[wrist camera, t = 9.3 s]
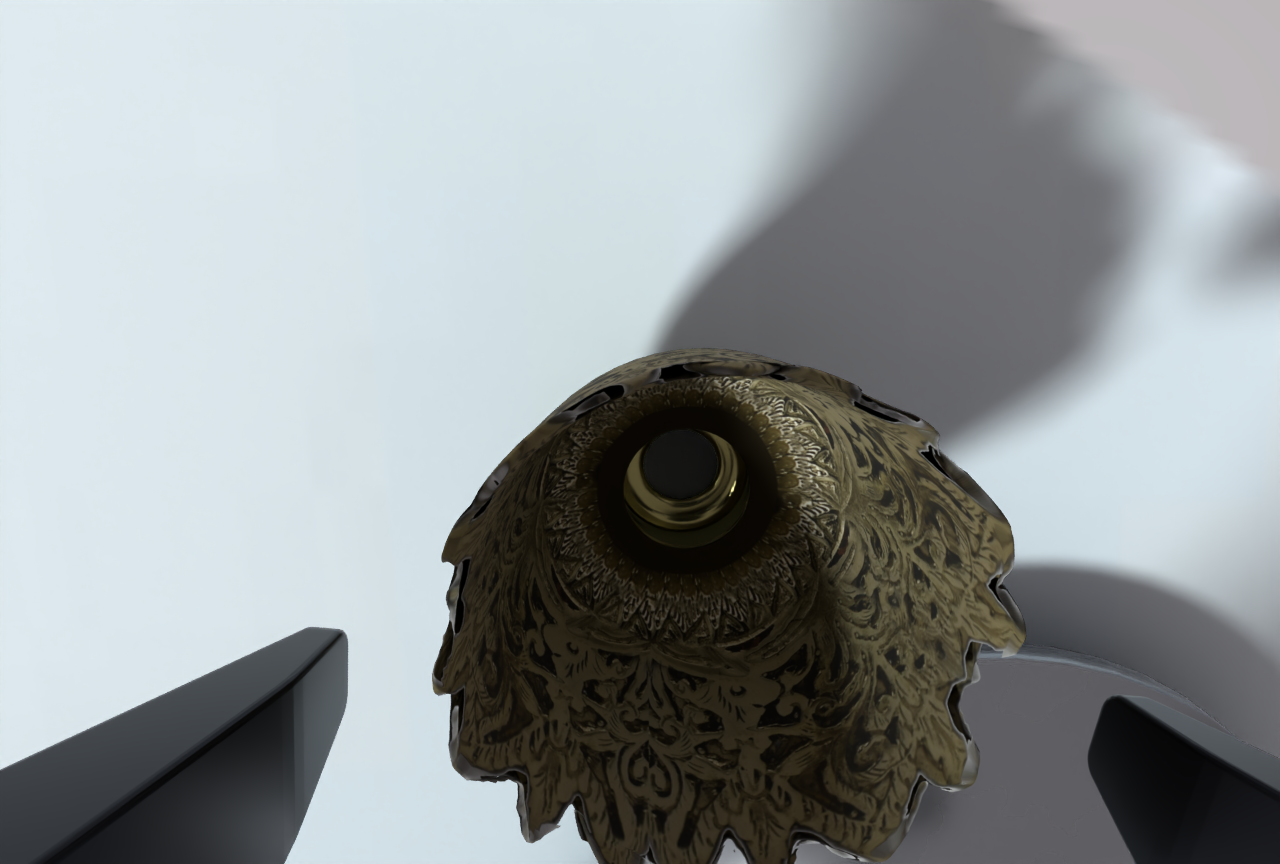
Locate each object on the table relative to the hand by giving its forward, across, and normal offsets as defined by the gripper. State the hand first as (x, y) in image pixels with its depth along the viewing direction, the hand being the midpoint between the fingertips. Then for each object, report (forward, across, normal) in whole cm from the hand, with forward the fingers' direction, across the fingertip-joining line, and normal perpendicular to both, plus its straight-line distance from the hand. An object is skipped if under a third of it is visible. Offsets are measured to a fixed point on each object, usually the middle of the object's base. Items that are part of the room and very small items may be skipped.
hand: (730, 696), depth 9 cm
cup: (+9, 0, 0) cm, 9 cm away
